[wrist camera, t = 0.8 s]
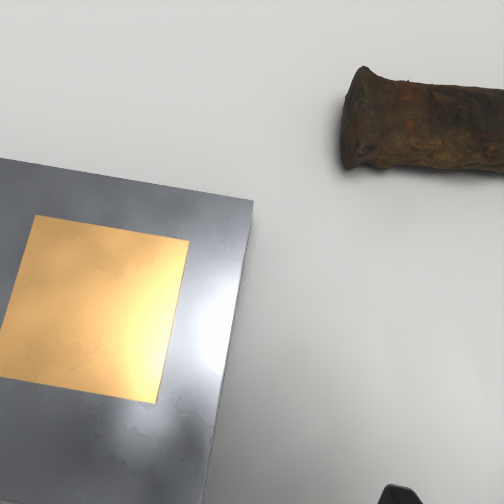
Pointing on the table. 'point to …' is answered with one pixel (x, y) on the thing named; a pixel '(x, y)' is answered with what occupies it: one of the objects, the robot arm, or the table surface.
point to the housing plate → (112, 334)
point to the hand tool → (421, 125)
